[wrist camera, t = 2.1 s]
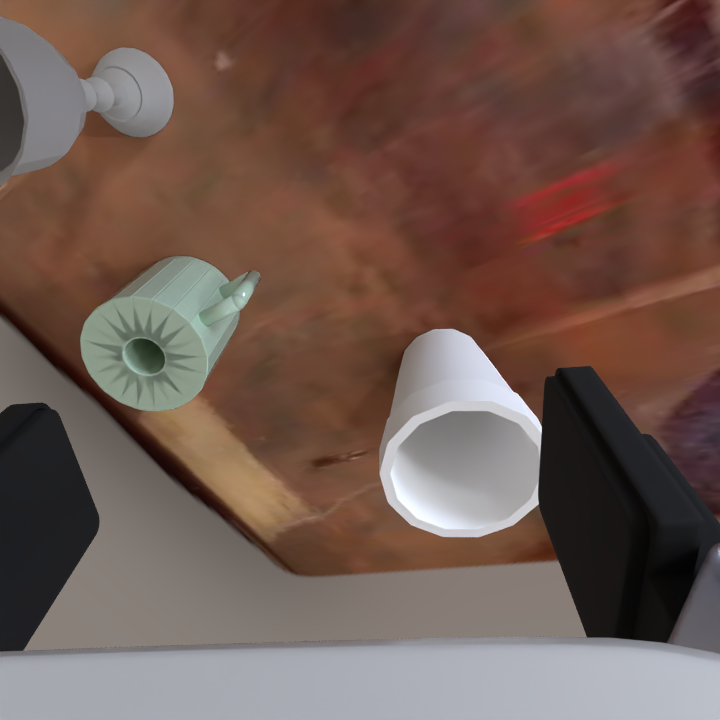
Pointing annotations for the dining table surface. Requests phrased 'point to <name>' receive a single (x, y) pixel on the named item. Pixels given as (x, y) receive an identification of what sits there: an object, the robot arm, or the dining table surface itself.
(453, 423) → the foam cup
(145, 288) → the mug
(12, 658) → the robot arm
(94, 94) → the chalice
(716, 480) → the dining table surface
